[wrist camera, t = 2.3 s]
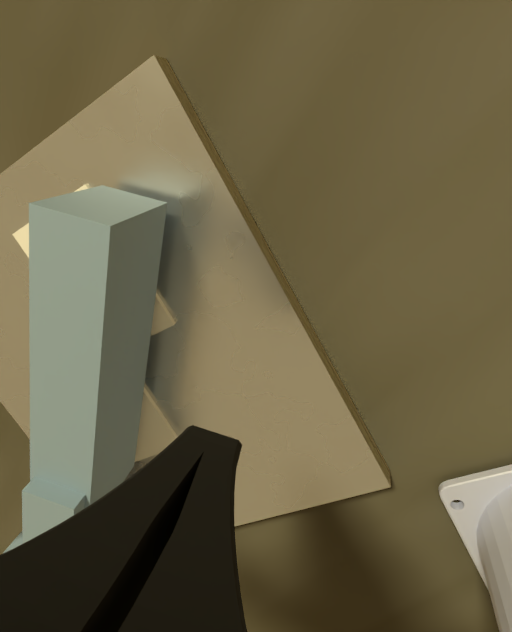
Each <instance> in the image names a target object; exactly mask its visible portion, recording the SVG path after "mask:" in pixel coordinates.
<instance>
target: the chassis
mask: <svg viewBox="0 0 512 632" xmlns="http://www.w3.org/2000/svg"><path fill="white" fill-rule="evenodd" d="M85 184H89V185H90V187H91V188H93V187H97V186H101V185H104V186H107V187H111V188H115V189H118V190H122V191H126V192H129V193H133V194H137V195H140V196H144V197H148V198H152V199H155V200H159V201H163V202H166V203H167V210H166V218H165V226H164V234H163V242H162V250H161V258H160V265H159V273H158V281H157V289H156V292H157V294H158V295H159V297H160V299H161V300H162V302H163V303H164V305H165V306H166V308H167V310H168V311H169V313H170V314H171V316H172V318H173V319H174V321H175V322H176V323H175V324H174V325H173V326H171V327H169V328H167V329H165V330H163V331H161V332H158V333H156V334H154V335H152V336H150V344H149V352H148V360H147V368H146V376H145V384H144V387H145V389H146V390H147V392H148V393H149V395H150V396H151V398H152V399H153V401H154V402H155V403H156V405H157V406H158V408H159V409H160V411H161V412H162V414H163V415H164V417H165V418H166V420H167V421H168V423H169V424H170V426H171V427H172V429H173V430H174V432H175V433H176V435H177V436H179V435H180V434H181V433H182V432H183V431H184V430H185V429H186V428H187V427H189V426H191V425H194V426H197V427H200V428H203V429H206V430H210V431H213V432H216V433H219V434H222V435H225V436H228V437H231V438H234V439H237V440H239V441H240V442H241V444H242V448H241V452H240V456H239V460H238V464H237V468H236V478H235V492H234V527H235V526H239V525H243V524H247V523H251V522H255V521H259V520H263V519H267V518H271V517H275V516H279V515H282V514H286V513H290V512H294V511H298V510H302V509H306V508H310V507H314V506H318V505H322V504H326V503H330V502H334V501H338V500H342V499H346V498H350V497H354V496H358V495H362V494H366V493H370V492H374V491H377V490H381V489H385V488H389V487H391V479H390V469H389V468H388V466H387V464H386V462H385V460H384V458H383V456H382V455H381V453H380V451H379V449H378V447H377V445H376V444H375V442H374V440H373V438H372V436H371V434H370V433H369V431H368V429H367V427H366V425H365V423H364V421H363V420H362V418H361V416H360V414H359V412H358V410H357V409H356V407H355V405H354V403H353V401H352V399H351V398H350V396H349V394H348V392H347V390H346V388H345V386H344V385H343V383H342V381H341V379H340V377H339V375H338V374H337V372H336V370H335V368H334V366H333V364H332V363H331V361H330V359H329V357H328V355H327V353H326V351H325V350H324V348H323V346H322V344H321V342H320V340H319V339H318V337H317V335H316V333H315V331H314V329H313V328H312V326H311V324H310V322H309V320H308V318H307V316H306V315H305V313H304V311H303V309H302V307H301V305H300V304H299V302H298V300H297V298H296V296H295V294H294V293H293V291H292V289H291V287H290V285H289V283H288V281H287V280H286V278H285V276H284V274H283V272H282V270H281V269H280V267H279V265H278V263H277V261H276V259H275V258H274V256H273V254H272V252H271V250H270V248H269V246H268V245H267V243H266V241H265V239H264V237H263V235H262V234H261V232H260V230H259V228H258V226H257V224H256V223H255V221H254V219H253V217H252V215H251V213H250V211H249V210H248V208H247V206H246V204H245V202H244V200H243V199H242V197H241V195H240V193H239V191H238V189H237V188H236V186H235V184H234V182H233V180H232V178H231V176H230V175H229V173H228V171H227V169H226V167H225V165H224V164H223V162H222V160H221V158H220V156H219V154H218V153H217V151H216V149H215V147H214V145H213V143H212V141H211V140H210V138H209V136H208V134H207V132H206V130H205V129H204V127H203V125H202V123H201V121H200V119H199V118H198V116H197V114H196V112H195V110H194V108H193V106H192V105H191V103H190V101H189V99H188V97H187V95H186V94H185V92H184V90H183V88H182V86H181V84H180V83H179V81H178V79H177V77H176V75H175V73H174V71H173V70H172V68H171V66H170V64H169V62H168V60H167V59H166V58H162V57H159V56H156V55H153V56H152V57H151V58H149V59H148V60H147V61H146V62H144V63H143V64H142V65H140V66H139V67H138V68H136V69H135V70H134V71H133V72H131V73H130V74H129V75H127V76H126V77H125V78H124V79H122V80H121V81H120V82H118V83H117V84H116V85H115V86H113V87H112V88H111V89H109V90H108V91H107V92H106V93H104V94H103V95H102V96H100V97H99V98H98V99H96V100H95V101H94V102H93V103H91V104H90V105H89V106H87V107H86V108H85V109H84V110H82V111H81V112H80V113H78V114H77V115H76V116H75V117H73V118H72V119H71V120H69V121H68V122H67V123H66V124H64V125H63V126H62V127H60V128H59V129H58V130H56V131H55V132H54V133H53V134H51V135H50V136H49V137H47V138H46V139H45V140H44V141H42V142H41V143H40V144H38V145H37V146H36V147H35V148H33V149H32V150H31V151H29V152H28V153H27V154H26V155H24V156H23V157H22V158H20V159H19V160H18V161H16V162H15V163H14V164H13V165H11V166H10V167H9V168H7V169H6V170H5V171H4V172H2V173H1V174H0V402H1V403H2V404H3V405H4V407H5V408H6V409H7V411H8V412H9V413H10V414H11V416H12V417H13V418H14V420H15V421H16V422H17V423H18V425H19V426H20V427H21V429H22V430H23V431H24V432H25V434H26V435H27V436H28V438H29V439H30V345H29V258H28V256H27V255H26V253H25V252H24V251H23V249H22V248H21V246H20V245H19V243H18V242H17V240H16V239H15V238H14V236H13V235H12V234H13V233H15V232H16V231H18V230H19V229H21V228H22V227H24V226H25V225H26V224H28V223H29V203H31V202H35V201H39V200H43V199H48V198H52V197H56V196H60V195H64V194H68V193H72V192H74V191H76V190H77V189H79V188H80V187H82V186H83V185H85ZM157 455H158V454H156V455H154V456H151V457H148V458H145V459H142V460H139V461H136V462H135V463H134V467H133V468H132V470H131V471H130V472H129V474H128V475H127V477H126V478H125V480H127V479H128V478H129V477H131V476H132V475H133V474H135V473H136V472H137V471H138V470H140V469H141V468H142V467H143V466H145V465H146V464H147V463H148V462H150V461H151V460H152V459H153V458H155V457H156V456H157ZM125 480H124V481H125ZM124 481H123V482H124Z"/></svg>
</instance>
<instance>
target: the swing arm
mask: <svg viewBox="0 0 512 632" xmlns="http://www.w3.org/2000/svg"><path fill="white" fill-rule="evenodd" d="M166 210H167V203H166V202H163V201H159V200H155V199H152V198H148V197H144V196H140V195H137V194H133V193H129V192H126V191H122V190H118V189H115V188H111V187H107V186H104V185H101V186H97V187H93V188H89V189H85V190H81V191H76V192H72V193H68V194H64V195H60V196H56V197H52V198H48V199H43V200H39V201H35V202H31V203H29V345H30V482H29V484H28V485H27V486H26V487H25V488H24V489H23V490H22V527H23V531H22V532H21V533H20V534H19V535H18V536H17V537H16V538H15V540H14V541H13V542H12V543H11V544H10V546H9V547H8V548H7V549H6V550H5V551H4V553H5V552H7V551H9V550H11V549H13V548H16V547H17V546H19V545H21V544H23V543H25V542H27V541H29V540H31V539H33V538H35V537H36V536H38V535H40V534H42V533H44V532H46V531H47V530H49V529H51V528H53V527H55V526H57V525H58V524H60V523H62V522H63V521H65V520H67V519H68V518H70V517H72V516H73V515H75V514H77V513H78V512H80V511H82V510H83V509H85V508H86V507H88V506H89V505H91V504H92V503H94V502H95V501H97V500H98V499H100V498H101V497H103V496H104V495H106V494H107V493H108V492H110V491H111V490H113V489H114V488H115V487H117V486H118V485H120V484H121V483H122V482H123V481H124V480H125V478H126V477H127V475H128V474H129V472H130V471H131V470H132V468H133V467H134V463H135V455H136V447H137V439H138V431H139V423H140V415H141V408H142V400H143V392H144V384H145V376H146V368H147V360H148V352H149V344H150V336H151V329H152V321H153V313H154V305H155V297H156V289H157V281H158V273H159V265H160V258H161V250H162V242H163V234H164V226H165V218H166Z"/></svg>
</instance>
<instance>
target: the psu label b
mask: <svg viewBox="0 0 512 632" xmlns="http://www.w3.org/2000/svg"><path fill="white" fill-rule="evenodd" d="M177 437H178V436H177V435H176V433H175V432H174V430H173V429H172V427H171V426H170V424H169V423H168V421H167V420H166V418H165V417H164V415H163V414H162V412H161V411H160V409H159V408H158V406H157V405H156V403H155V402H154V401H153V399H152V398H151V396H150V395H149V393H148V392H147V390H146V389H145V387H144V392H143V400H142V408H141V415H140V423H139V431H138V439H137V447H136V455H135V462H136V461H139V460H142V459H145V458H148V457H151V456H154V455H156V454H159V453H160V452H162V451H163V450H164V449H165V448H166V447H167V446H168V445H170V444H171V443H172V442H173V441H174V440H175V439H176V438H177Z"/></svg>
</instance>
